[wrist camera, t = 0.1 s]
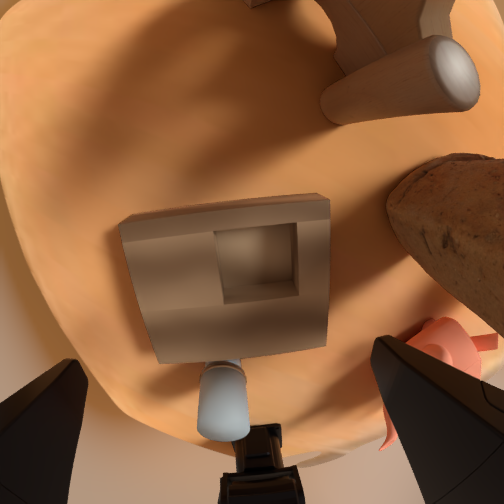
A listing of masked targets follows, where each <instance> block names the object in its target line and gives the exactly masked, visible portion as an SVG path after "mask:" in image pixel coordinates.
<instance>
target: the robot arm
mask: <svg viewBox="0 0 504 504" xmlns="http://www.w3.org/2000/svg"><path fill="white" fill-rule="evenodd" d="M370 362H371V366H372V369H373V372H374V375H375V378H376V381H377V384H378V387H379V390H380V393H381V396H382V399H383V402H384V405H385V407H386V410H387V412H388V414H389V416H390V419H391V421H392V423H393V425H394V428H395V430H396V432H397V434H398V437H399V439H400V441H401V444H402V446H403V448H404V450H405V453H406V455H407V458H408V460H409V463H410V465H411V468H412V470H413V473H414V475H415V478H416V480H417V483H418V485H419V488H420V490H421V493H422V496H423V498H424V501H425V504H504V390H501V389H499V388H497V387H495V386H492V385H490V384H488V383H486V382H484V381H480V379H478V378H476V377H473V376H471V375H469V374H467V373H465V372H463V371H461V370H459V369H457V368H455V367H453V366H451V365H449V364H447V363H445V362H443V361H441V360H439V359H437V358H435V357H432V356H430V355H428V354H426V353H424V352H422V351H420V350H418V349H416V348H414V347H412V346H410V345H408V344H406V343H404V342H402V341H400V340H398V339H396V338H394V337H392V336H390V335H384V336H380V337H377V338H376V339H375V341H374V345H373V350H372V354H371V358H370ZM87 389H88V378H87V376H86V375H85V373H84V371H83V369H82V367H81V365H80V363H79V361H78V360H76V359H70V358H66V359H64V360H62V361H61V362H60V363H58V364H56V365H55V366H54V367H52V368H51V369H49V370H48V371H46V372H45V373H43V374H42V375H40V376H39V377H37V378H36V379H34V380H33V381H31V382H30V383H29V384H27V385H26V386H24V387H23V388H21V389H20V390H18V391H17V392H16V393H14V394H13V395H11V396H10V397H8V398H7V399H5V400H4V401H3V402H1V403H0V504H67V501H68V494H69V487H70V480H71V474H72V468H73V462H74V458H75V453H76V448H77V444H78V439H79V434H80V430H81V426H82V420H83V414H84V407H85V401H86V395H87ZM231 442H232V445H233V448H234V451H235V454H236V469H237V470H236V471H237V473H223V477H222V478H220V493H219V499H218V504H305V497H304V492H303V487H302V484H301V480H300V477H299V473H298V469H297V466H296V465H293V466H290V467H284V465H283V460H282V454H281V449H280V448H282V434H281V425H280V424H272V425H265V426H256V427H250V431H249V433H248V434H247V435H246V436H245V437H243V438H241V439H239V440H235V441H231Z"/></svg>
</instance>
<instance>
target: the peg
mask: <svg viewBox="0 0 504 504" xmlns="http://www.w3.org/2000/svg"><path fill="white" fill-rule="evenodd" d="M246 383H247V381H246V376H245V373H244V371H243V369H242V368H241V360H240V359H233V360H222V361H209V362H205V367H204V369H203V370H202V372H201V375H200V392H199V405H198V419H197V430H198V432H199V433H200V434H201V435H202V436H203V437H205V438H207V439H210V440H214V441H220V442H229V441H235V440H239V439H241V438H243V437H245V436H246V435H247V434H248V433H249V431H250V422H249V412H248V401H247V391H246Z"/></svg>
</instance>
